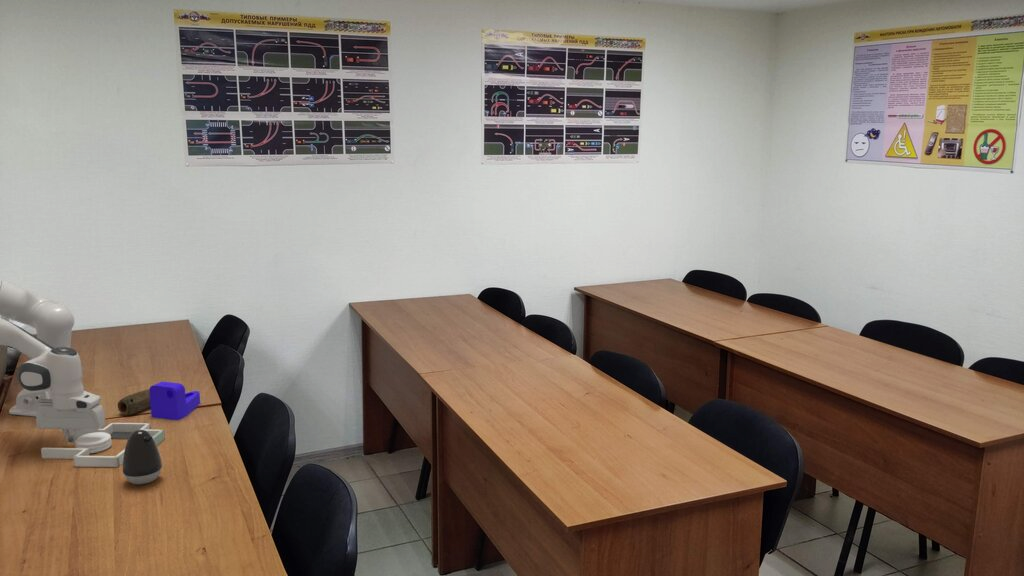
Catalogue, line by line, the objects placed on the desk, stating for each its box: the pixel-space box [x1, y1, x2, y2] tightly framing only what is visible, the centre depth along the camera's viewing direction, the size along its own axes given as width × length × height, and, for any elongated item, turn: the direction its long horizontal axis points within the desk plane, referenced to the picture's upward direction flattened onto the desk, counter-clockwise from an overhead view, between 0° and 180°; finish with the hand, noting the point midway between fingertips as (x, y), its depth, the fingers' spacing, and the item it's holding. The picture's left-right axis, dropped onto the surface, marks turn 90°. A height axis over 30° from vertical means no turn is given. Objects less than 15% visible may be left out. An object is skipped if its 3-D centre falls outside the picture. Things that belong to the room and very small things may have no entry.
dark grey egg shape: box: [121, 430, 163, 485], centre depth 228 cm, size 10×10×15 cm
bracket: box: [148, 381, 201, 421], centre depth 286 cm, size 18×11×12 cm, turn 164°
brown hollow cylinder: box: [117, 388, 151, 416], centre depth 286 cm, size 15×7×7 cm, turn 162°
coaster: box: [74, 432, 113, 455], centre depth 252 cm, size 10×10×4 cm
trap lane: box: [40, 422, 166, 468], centre depth 252 cm, size 30×28×3 cm
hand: (72, 441), depth 252 cm, fingers closed
